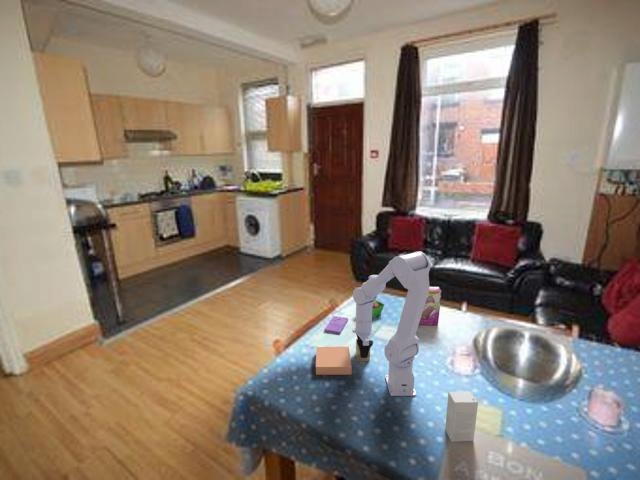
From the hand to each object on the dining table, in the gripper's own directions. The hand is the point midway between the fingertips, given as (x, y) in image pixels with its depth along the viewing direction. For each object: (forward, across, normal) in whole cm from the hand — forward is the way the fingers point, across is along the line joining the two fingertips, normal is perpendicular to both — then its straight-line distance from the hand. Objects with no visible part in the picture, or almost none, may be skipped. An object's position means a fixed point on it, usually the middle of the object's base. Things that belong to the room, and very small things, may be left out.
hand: (362, 352), depth 121 cm
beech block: (+2, 0, 0) cm, 2 cm away
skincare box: (+2, +35, +21) cm, 41 cm away
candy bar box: (+2, -25, +30) cm, 39 cm away
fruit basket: (+2, -33, +7) cm, 34 cm away
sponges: (+3, -23, -8) cm, 24 cm away
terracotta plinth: (+2, +4, -11) cm, 12 cm away
